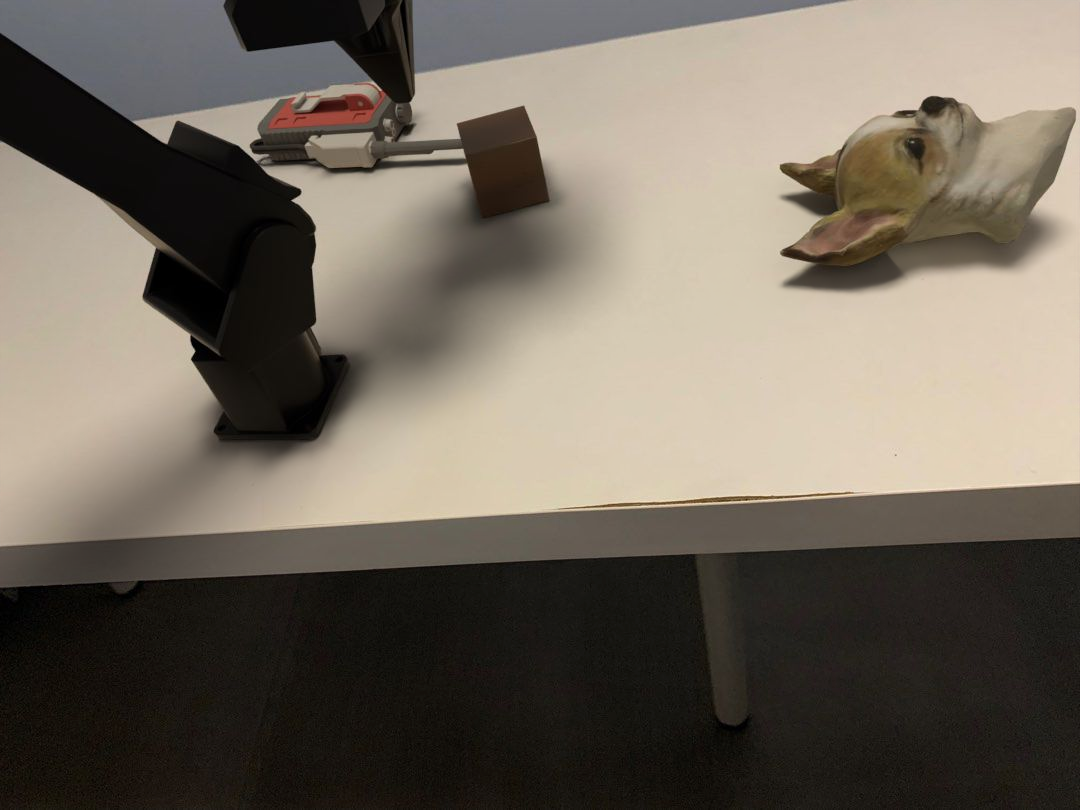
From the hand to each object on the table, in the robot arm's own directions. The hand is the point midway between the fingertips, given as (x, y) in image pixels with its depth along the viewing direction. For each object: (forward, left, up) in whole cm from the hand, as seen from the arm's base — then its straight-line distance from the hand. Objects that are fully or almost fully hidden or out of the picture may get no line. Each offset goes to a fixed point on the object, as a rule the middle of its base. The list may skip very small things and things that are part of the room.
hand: (405, 100), depth 48 cm
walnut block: (+9, -2, -12) cm, 15 cm away
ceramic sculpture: (+1, -28, -12) cm, 31 cm away
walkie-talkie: (+18, +12, -12) cm, 25 cm away
